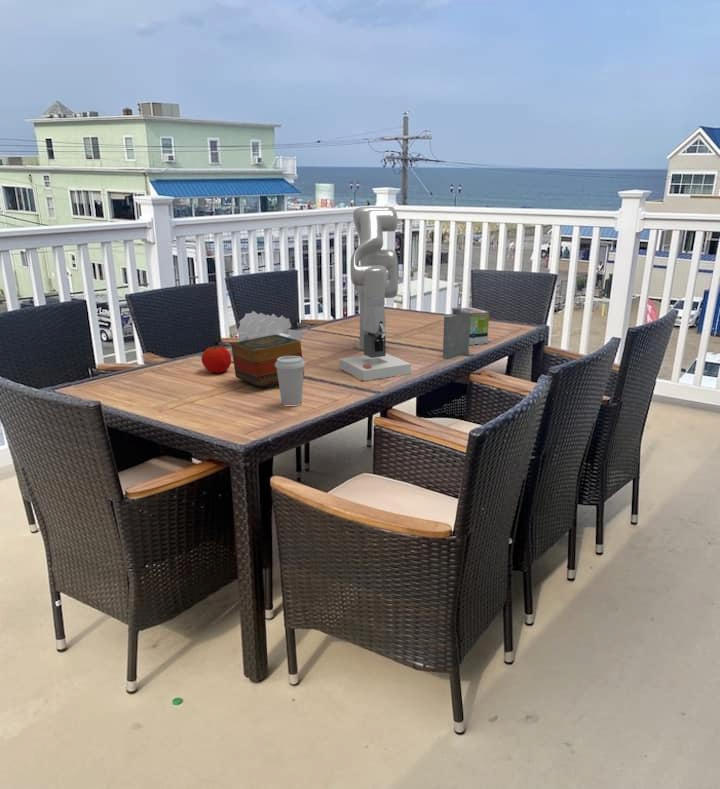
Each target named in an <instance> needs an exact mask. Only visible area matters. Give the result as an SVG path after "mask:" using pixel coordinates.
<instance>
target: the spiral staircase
mask: <svg viewBox="0 0 720 789" xmlns="http://www.w3.org/2000/svg"><path fill="white" fill-rule="evenodd" d="M238 322H239V324H240V325H239V327H238V329H237V331H236V333H237V334H238V342H241V341H245V340H251V339H255V338H260V337H265V336H270V335H280V336H284V337H288V338H291V339H295V340H299V341H300V342H301V343H302V337H303V333H304V332H303V331H300V330H296V329H291V328H292V324H291V321H290V318H286V317H285V316H283V314H282V315H280V317H278V316H277V315H276V314H274V313H272V315H269V314H264V313H262V312H260V313H258V312H256V311H254V310H252V312H250V313H245V314H244V317H242V319H240V320H239V321H238Z"/></svg>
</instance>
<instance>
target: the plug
mask: <svg viewBox="0 0 720 789" xmlns="http://www.w3.org/2000/svg"><path fill="white" fill-rule="evenodd" d="M377 333H378V332H377ZM379 335H380V334H378V337H379ZM386 336H387V334H386V335H385V337H384V341H383V351H379V352H376V351H375V341H376V338H375V334H372V333H369V334H364V351H363V354H364V355H363V356H365V355H366V356H368V357H371V358H375V357H382V356H386V354H387V352H386V351H387V350H386V349H387V348H386V346H387V345H386V340H387V339H386Z"/></svg>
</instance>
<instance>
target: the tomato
mask: <svg viewBox="0 0 720 789" xmlns="http://www.w3.org/2000/svg"><path fill="white" fill-rule="evenodd" d="M201 362H202V365H203V367H204V369H206V370H207V371H208V372H211V373H213V372H214V374H220V372H221V373H223V371H224V372H226V371H227V370H228V369H229V368H230V366H231V364H232V357H231V354H230V352H229V350H228V349H226V348H225V347H224V346H223V345H222V346H221V345H220V346H218V345H213V346H211V345H209V347H208V348H206V349H205V350H204V352H202V355H201Z"/></svg>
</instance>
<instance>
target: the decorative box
mask: <svg viewBox="0 0 720 789" xmlns="http://www.w3.org/2000/svg"><path fill="white" fill-rule="evenodd" d="M230 345H231V352H232V353H231V354H232V360H233V367H234V374H235V377H236V378H238V379H240V380H241V381H245V382H246V383H248V384H250V385H253V384H254V386H256V387H258V388H266V387H270V386H273V385H277V384H279V381H278V374H277V368H276V367H275V363H276V362H277V359H278V358H279V357H283V356H299V357H302V359H303V353H302V352H303V351H302V341H301V342H300V341H299V340H295V339H291V338H288V337H284V336H280V335H270V336H265V337H260V338H255V339H251V340H245V341H241V342H239V341H237V342H236V341H235V342H232V343H231V344H230ZM303 360H304V359H303ZM304 376H305V368H304V369H303V377H304Z"/></svg>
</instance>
